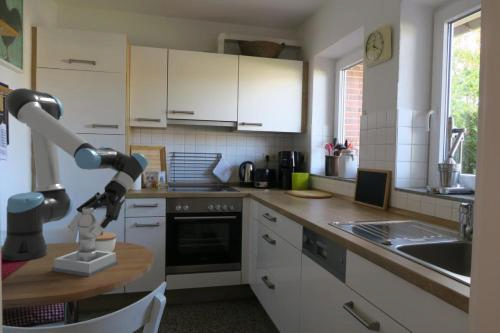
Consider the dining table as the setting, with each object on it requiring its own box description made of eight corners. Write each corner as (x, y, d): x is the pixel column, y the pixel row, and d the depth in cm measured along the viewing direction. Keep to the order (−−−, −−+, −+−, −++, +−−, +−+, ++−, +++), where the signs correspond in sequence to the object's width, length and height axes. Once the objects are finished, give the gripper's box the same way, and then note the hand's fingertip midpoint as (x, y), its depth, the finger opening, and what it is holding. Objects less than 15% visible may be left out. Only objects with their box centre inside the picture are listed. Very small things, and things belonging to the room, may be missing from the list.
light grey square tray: (51, 270, 119) (51, 259, 119) (83, 258, 133) (83, 248, 133) (89, 276, 115) (89, 264, 115) (117, 263, 129) (117, 252, 129)
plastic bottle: (92, 260, 129) (94, 205, 128) (99, 264, 124) (101, 208, 123) (73, 263, 124) (75, 207, 124) (80, 268, 119) (81, 210, 119)
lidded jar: (95, 260, 132) (96, 235, 132) (81, 254, 138) (81, 230, 138) (121, 254, 140) (121, 231, 140) (106, 249, 147) (107, 227, 147)
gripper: (147, 195, 130) (111, 243, 118) (103, 189, 143) (67, 232, 131) (136, 182, 126) (98, 230, 113) (92, 177, 138) (53, 220, 126)
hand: (81, 231), depth 122 cm, fingers open, 13 cm apart
